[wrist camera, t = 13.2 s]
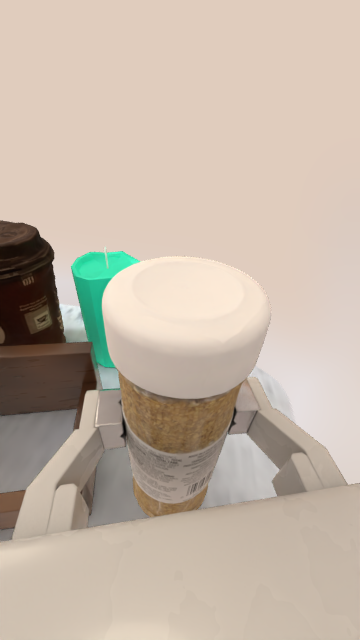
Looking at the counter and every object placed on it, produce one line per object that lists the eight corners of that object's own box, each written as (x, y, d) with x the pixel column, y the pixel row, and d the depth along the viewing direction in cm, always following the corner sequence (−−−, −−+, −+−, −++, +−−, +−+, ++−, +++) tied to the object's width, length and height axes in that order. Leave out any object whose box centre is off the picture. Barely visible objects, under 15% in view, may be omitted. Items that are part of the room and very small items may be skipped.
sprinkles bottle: (181, 429, 17) (206, 242, 9) (223, 494, 14) (315, 306, 6) (119, 464, 15) (77, 265, 7) (153, 549, 12) (148, 378, 4)
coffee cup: (-6, 395, 22) (-96, 264, 14) (-18, 342, 27) (-90, 222, 19) (88, 356, 27) (59, 238, 19) (63, 316, 32) (32, 210, 24)
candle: (148, 363, 26) (145, 260, 19) (89, 372, 25) (62, 264, 18) (140, 328, 31) (136, 233, 24) (91, 333, 30) (69, 234, 22)
